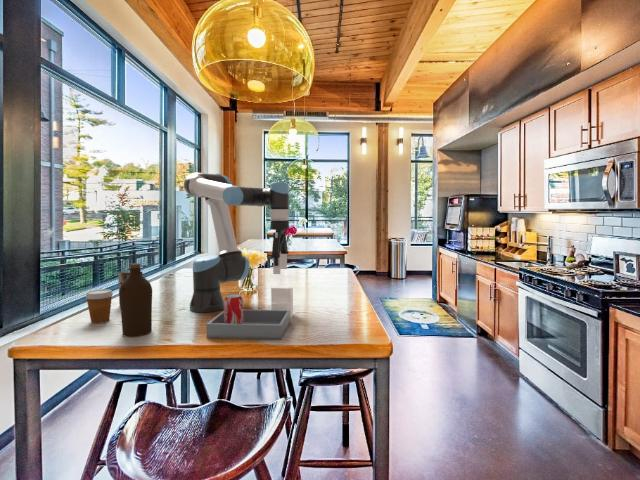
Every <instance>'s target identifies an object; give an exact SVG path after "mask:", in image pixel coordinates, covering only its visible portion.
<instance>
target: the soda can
mask: <svg viewBox="0 0 640 480" xmlns="http://www.w3.org/2000/svg"><path fill="white" fill-rule="evenodd" d="M224 297H225V298H223V299H224V308H223V311H224V323H228V324H243V322H244V310H245V309H244V298H243V297H242V294H241V293H230V294H229V293H228V294H225V296H224Z"/></svg>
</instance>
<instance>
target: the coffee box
mask: <svg viewBox="0 0 640 480" xmlns="http://www.w3.org/2000/svg"><path fill="white" fill-rule="evenodd" d="M140 273H141V275H142V276H143V271H141V270H140ZM129 275H130V270H124V271H119V272H117V278H118V280H117V282H118V290H119V289H120V286H121V284H122V283H123V282H124V281H125V280H126V279H127V278H128V277H129ZM143 277H144V276H143ZM118 299H119V302H118V303H119V305H120V298H119V297H118Z"/></svg>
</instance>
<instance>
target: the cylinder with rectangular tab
mask: <svg viewBox="0 0 640 480" xmlns="http://www.w3.org/2000/svg"><path fill="white" fill-rule="evenodd" d="M270 289H271V290H270V295H271V296H270V298H271V299H270V304H271V309H270V310H290V319H291V318H292V317H294V287H293V286H271V288H270Z"/></svg>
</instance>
